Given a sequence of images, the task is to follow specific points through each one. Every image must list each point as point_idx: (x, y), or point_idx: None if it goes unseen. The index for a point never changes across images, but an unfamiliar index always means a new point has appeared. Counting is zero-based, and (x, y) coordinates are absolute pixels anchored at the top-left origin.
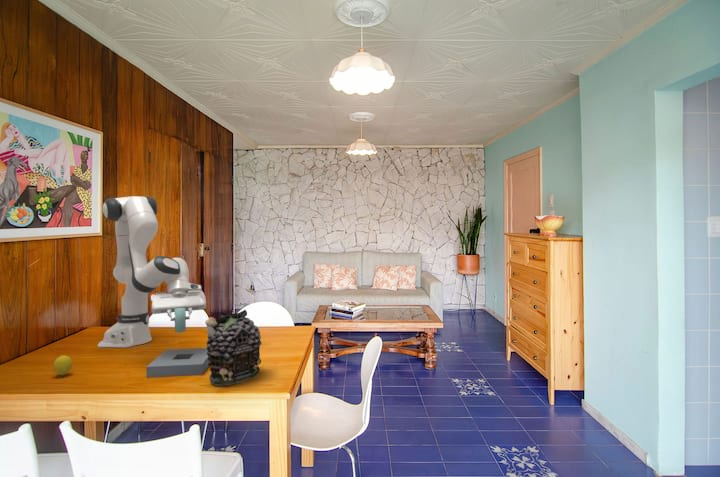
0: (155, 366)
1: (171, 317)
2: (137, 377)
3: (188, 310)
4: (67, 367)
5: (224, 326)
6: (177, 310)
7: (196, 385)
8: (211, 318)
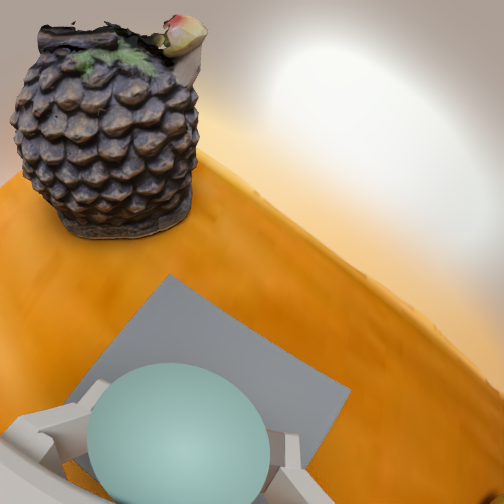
0: (322, 373)
1: (292, 441)
2: (358, 412)
3: (57, 453)
4: (499, 500)
5: (146, 43)
6: (238, 390)
7: (224, 225)
8: (184, 16)
